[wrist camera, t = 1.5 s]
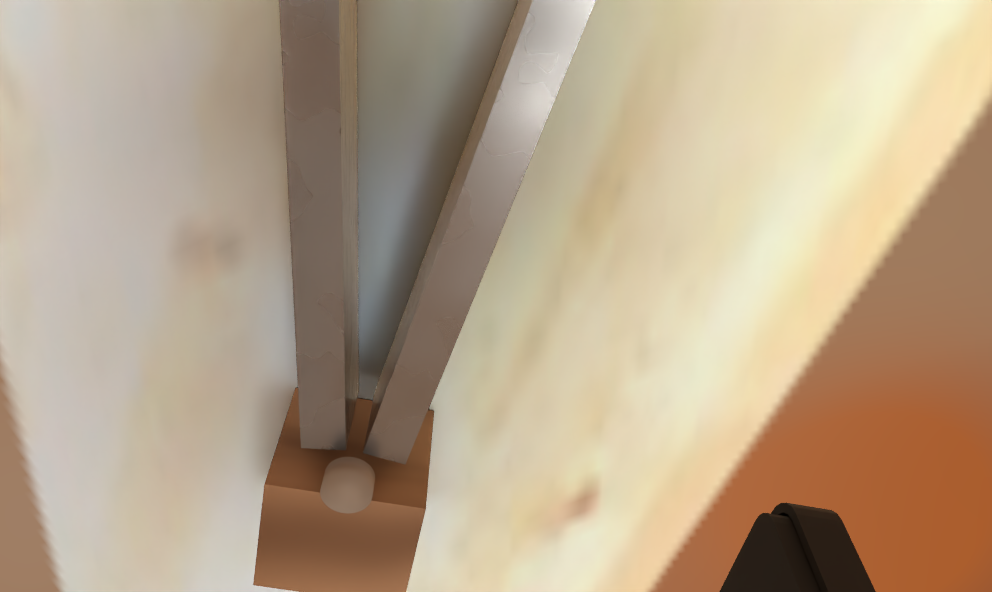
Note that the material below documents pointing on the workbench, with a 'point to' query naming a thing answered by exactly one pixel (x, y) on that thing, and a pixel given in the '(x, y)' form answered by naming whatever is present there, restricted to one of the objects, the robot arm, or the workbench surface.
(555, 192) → the workbench surface
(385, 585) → the pivot block
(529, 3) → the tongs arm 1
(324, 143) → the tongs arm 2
